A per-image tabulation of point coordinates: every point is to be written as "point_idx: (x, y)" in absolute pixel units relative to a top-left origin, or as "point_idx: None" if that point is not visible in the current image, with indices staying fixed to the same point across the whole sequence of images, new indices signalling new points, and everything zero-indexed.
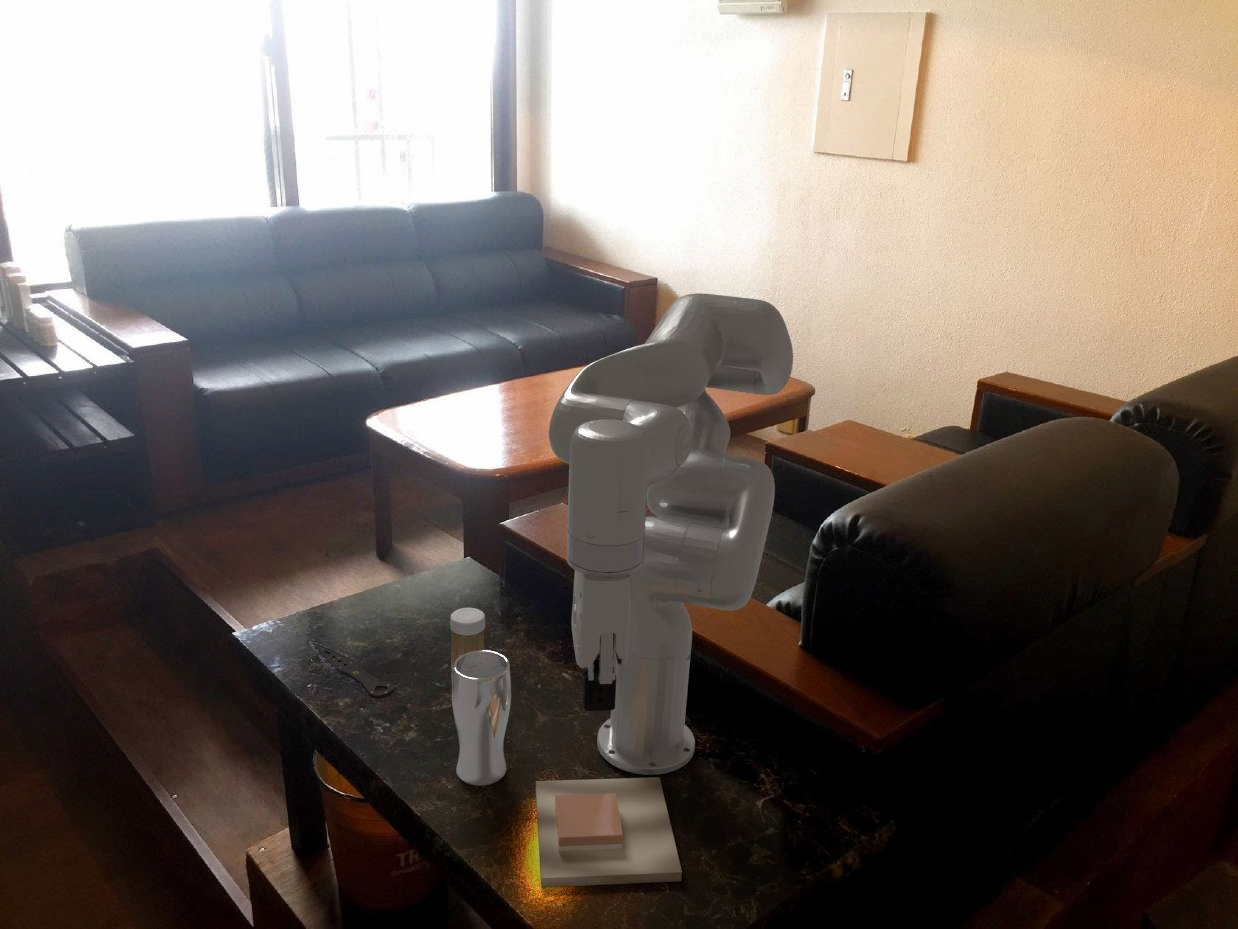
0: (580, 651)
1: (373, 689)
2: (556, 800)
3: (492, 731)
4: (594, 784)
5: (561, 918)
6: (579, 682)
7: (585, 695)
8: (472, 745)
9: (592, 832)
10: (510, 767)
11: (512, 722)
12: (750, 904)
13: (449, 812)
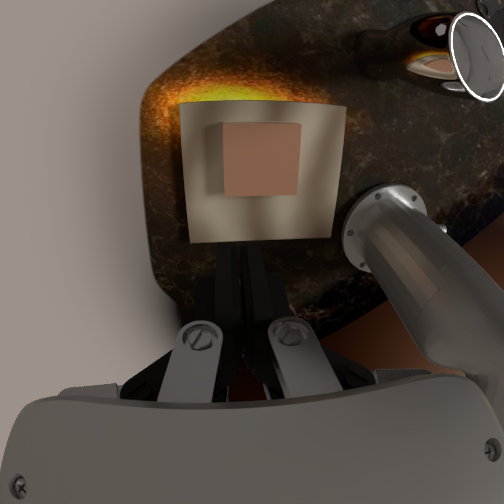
0: (2, 475)
1: (483, 3)
2: (291, 125)
3: (392, 58)
4: (331, 171)
5: (139, 125)
6: (473, 183)
7: (216, 270)
8: (383, 36)
9: (230, 163)
10: (380, 86)
11: (442, 105)
12: (168, 284)
13: (311, 12)
